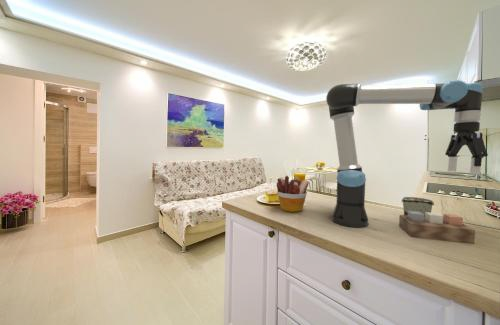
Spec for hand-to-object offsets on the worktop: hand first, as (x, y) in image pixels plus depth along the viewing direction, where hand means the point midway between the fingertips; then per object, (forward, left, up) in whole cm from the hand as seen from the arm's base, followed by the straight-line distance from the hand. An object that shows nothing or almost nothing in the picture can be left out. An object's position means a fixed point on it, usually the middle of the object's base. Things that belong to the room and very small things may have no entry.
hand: (462, 172), depth 88 cm
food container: (-13, +8, -24) cm, 28 cm away
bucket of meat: (-72, +4, -24) cm, 76 cm away
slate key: (-20, -12, -20) cm, 31 cm away
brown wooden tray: (-14, -12, -24) cm, 30 cm away
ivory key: (-14, -12, -20) cm, 27 cm away
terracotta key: (-8, -12, -20) cm, 25 cm away
